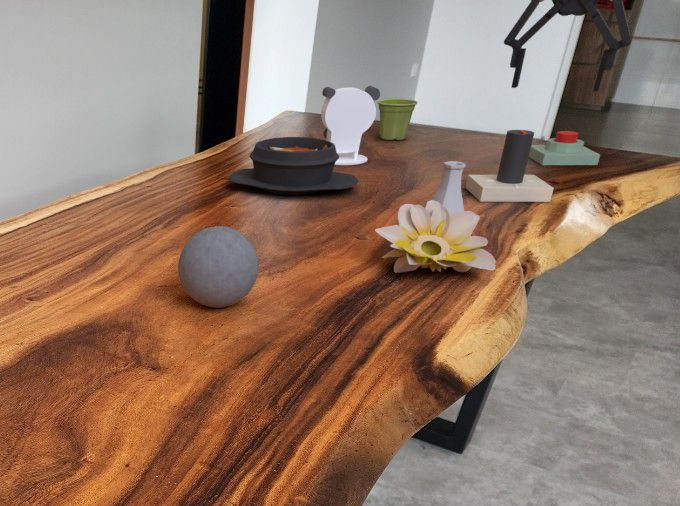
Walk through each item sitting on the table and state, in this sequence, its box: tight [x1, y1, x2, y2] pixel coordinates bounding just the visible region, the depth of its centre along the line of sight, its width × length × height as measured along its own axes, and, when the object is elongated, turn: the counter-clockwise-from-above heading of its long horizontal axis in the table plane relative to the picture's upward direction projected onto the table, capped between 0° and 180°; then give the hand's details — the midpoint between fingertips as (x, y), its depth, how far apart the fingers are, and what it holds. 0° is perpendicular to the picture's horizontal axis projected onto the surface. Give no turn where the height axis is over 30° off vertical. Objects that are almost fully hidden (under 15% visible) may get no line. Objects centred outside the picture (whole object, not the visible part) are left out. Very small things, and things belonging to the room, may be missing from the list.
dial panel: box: [464, 174, 555, 203], centre depth 132 cm, size 12×10×3 cm
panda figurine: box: [320, 85, 381, 166], centre depth 158 cm, size 12×11×15 cm
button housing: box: [528, 137, 601, 166], centre depth 154 cm, size 11×10×4 cm
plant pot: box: [377, 98, 419, 141], centre depth 178 cm, size 9×9×9 cm
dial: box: [496, 129, 535, 184], centre depth 129 cm, size 4×4×9 cm
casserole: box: [227, 136, 359, 196], centre depth 139 cm, size 25×19×8 cm
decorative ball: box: [177, 225, 260, 309], centre depth 90 cm, size 10×10×10 cm
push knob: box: [555, 130, 579, 143], centre depth 153 cm, size 4×4×2 cm
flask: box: [431, 160, 467, 216], centre depth 115 cm, size 7×7×10 cm
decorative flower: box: [374, 199, 497, 274], centre depth 97 cm, size 15×11×10 cm
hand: (554, 88), depth 134 cm, fingers open, 13 cm apart
